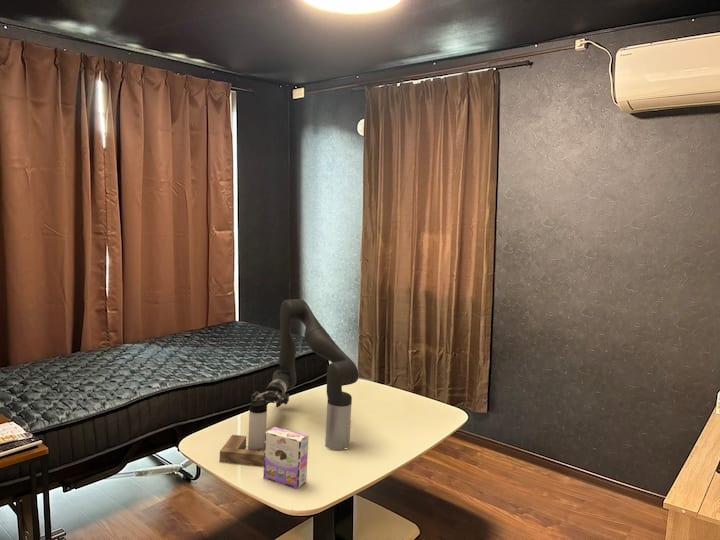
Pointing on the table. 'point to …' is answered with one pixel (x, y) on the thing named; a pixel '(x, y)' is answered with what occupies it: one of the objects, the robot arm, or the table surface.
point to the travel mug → (257, 425)
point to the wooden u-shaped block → (240, 452)
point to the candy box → (285, 457)
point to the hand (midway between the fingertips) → (266, 404)
